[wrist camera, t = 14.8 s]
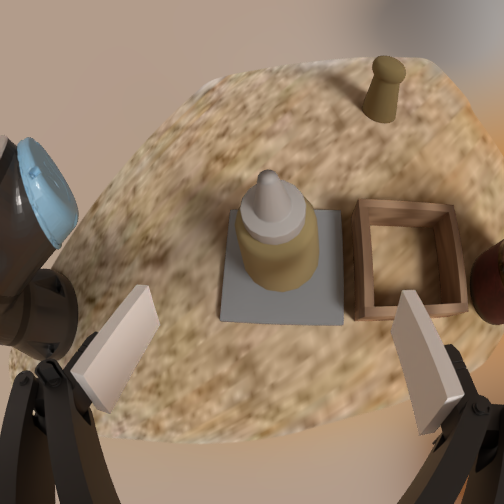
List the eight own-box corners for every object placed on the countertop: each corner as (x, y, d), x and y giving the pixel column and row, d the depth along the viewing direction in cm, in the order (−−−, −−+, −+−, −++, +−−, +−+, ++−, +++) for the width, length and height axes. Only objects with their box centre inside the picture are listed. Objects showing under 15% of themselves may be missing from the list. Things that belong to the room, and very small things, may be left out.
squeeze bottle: (248, 299, 32) (196, 247, 15) (247, 233, 35) (205, 135, 18) (319, 295, 31) (347, 238, 14) (313, 229, 34) (325, 124, 17)
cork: (381, 97, 41) (392, 49, 31) (402, 119, 39) (418, 70, 28) (355, 103, 41) (362, 52, 31) (375, 126, 39) (388, 74, 29)
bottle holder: (354, 321, 31) (364, 316, 26) (351, 217, 35) (358, 198, 30) (448, 316, 29) (468, 311, 24) (437, 221, 33) (453, 205, 28)
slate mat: (222, 321, 33) (219, 320, 32) (231, 213, 37) (230, 209, 36) (341, 325, 31) (343, 324, 30) (339, 213, 35) (340, 210, 34)
